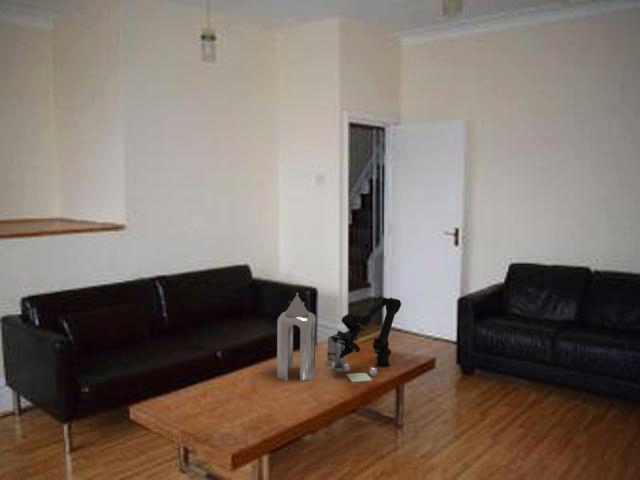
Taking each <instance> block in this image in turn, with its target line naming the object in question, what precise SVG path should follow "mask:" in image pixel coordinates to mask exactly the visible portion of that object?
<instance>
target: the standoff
mask: <svg viewBox="0 0 640 480" xmlns="http://www.w3.org/2000/svg"><path fill="white" fill-rule="evenodd" d="M342 352H343V343H342V342H336V343H335V366H334V367H333V370H332V371H334V370H335V372H342V371H343V370H344V366H343V358H341V359H340V358H339V357H340V355H341V353H342Z"/></svg>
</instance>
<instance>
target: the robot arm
mask: <svg viewBox="0 0 640 480" xmlns="http://www.w3.org/2000/svg"><path fill="white" fill-rule="evenodd" d="M401 306H402V303H401V300H400V299H397V298H393V297H389V298H387V297H384V296H380V297H379V298H378V299H377V301H375V302H374V303H373V304H372V305H370V307H368V308H367V309H366V310H363V311H360V312H359V313H357V314H356V315H353V314H352V313H350V312H348V314H346V315H344V316H342V318H341V322H342V324H344V326H345V327H346V328H347V329H348V330H347V331H345V332H344V331H341V330H337V332H336V334H337V335H336V334H335V335H336V336H333V335H332V336H333V337H332V339H331V340H332V341H333V342H334V343H336V342H342V343H343V345H345V347H344V350H343V352H342V353H341V355H340V357H339V358H340V359H341V358H343V357H344V356H345V357H346V356H348V355H350V354H352V353H357V354H359V353H360V351H361V347H360V346H359V345H358V344H357V343H356V342H355V341H358V338H357V337H358V336H359V335H360V333H364V332H365V327H366V326H368V325H369V324H370V322H372V318H373V316H375V315H376V314H378V312H379V311H381V310H382V309H383V308H384V307H385V311H386V313H385V316H384V320H383V322H382V326H381V330H380V333H379V336H378V337H375V338H374V340H373V343H372V348H373V351H374V353H375V354H376V356H375V364H376V365H377V366H378V367H388V366H391V365H390V364H389V363H390V361H389V359H390V356H392V350H391V349H390V348H389V346H390V345H389V344H390V342H389V335H390V333H391V329H392V326H393V325H392V324H393V323H394V319H395V315H396V314H397V313H398V312H399V311H400V308H401ZM337 336H339V337H341V339H342V340H341V339H340V338H339V337H337ZM344 343H345V344H344ZM334 356H335V352H334Z"/></svg>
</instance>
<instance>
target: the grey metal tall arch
mask: <svg viewBox="0 0 640 480" xmlns="http://www.w3.org/2000/svg"><path fill="white" fill-rule="evenodd" d="M305 303H306V302H304V301H302V300H301V298H300V296H299V293H298V292H296V293H295V297H294V298H293V300H292V301H291V302H290V303H289V304H290V305H289V307H287V310H286V311H284V312H282V313H281V314H280V315H279V316H278V318H277V323H276V324H277V325H276V326H277V331H276V337H277V339H276V341H277V343H276V351H277V352H276V376H277V378H278V379H281V380H285V381H286V380H288V377H289V376H288V373H289V372H288V369H293V368H294V326H297V327H298V328H299V330H300V332H299V333H300V334H299V335H300V336H299V343H300V344H299V348H300V349H299V381H308V380H309V381H310V380H312V379H314V374H315V372H316V343H317V342H316V339H317V337H316V332H317V329H316V328H317V324H316V323H317V317H316V315H315V314H314V313H313V312H310V311H309V310H307V308H306V306H305Z"/></svg>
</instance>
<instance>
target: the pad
mask: <svg viewBox="0 0 640 480" xmlns="http://www.w3.org/2000/svg"><path fill="white" fill-rule="evenodd" d="M346 376H347V378H348V379H349V380H350V382H351V383H359V382H360V383H361V382H373V379H372V378H371V376H370V375H368V374H367V373H366V372H361V373H360V372H359V373H357V372H356V373H346Z"/></svg>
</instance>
